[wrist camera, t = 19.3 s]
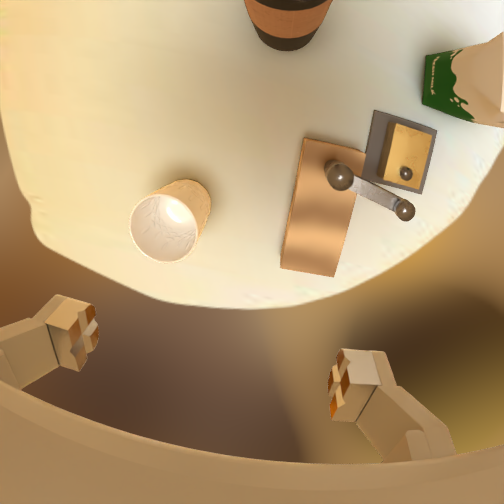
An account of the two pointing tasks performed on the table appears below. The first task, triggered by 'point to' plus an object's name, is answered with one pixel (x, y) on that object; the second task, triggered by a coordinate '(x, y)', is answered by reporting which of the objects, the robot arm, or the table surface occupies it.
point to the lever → (367, 189)
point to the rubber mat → (376, 146)
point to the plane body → (319, 210)
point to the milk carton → (468, 82)
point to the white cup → (170, 221)
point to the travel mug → (287, 21)
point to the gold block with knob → (404, 155)
